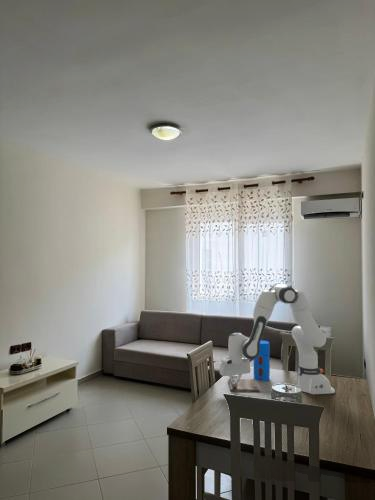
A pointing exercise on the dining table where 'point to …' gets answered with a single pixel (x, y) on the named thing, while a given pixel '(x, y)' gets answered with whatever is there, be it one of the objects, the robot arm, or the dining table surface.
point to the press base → (244, 386)
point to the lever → (235, 380)
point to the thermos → (262, 362)
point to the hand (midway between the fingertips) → (235, 381)
